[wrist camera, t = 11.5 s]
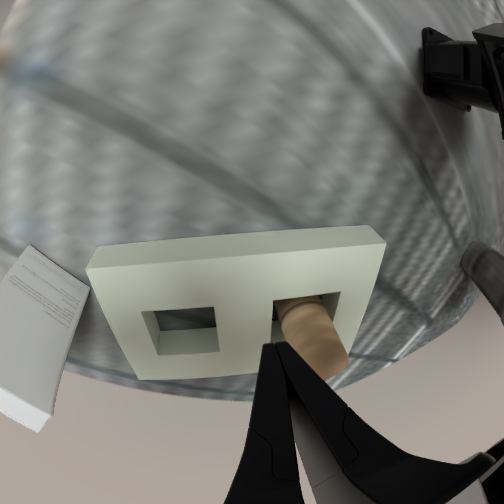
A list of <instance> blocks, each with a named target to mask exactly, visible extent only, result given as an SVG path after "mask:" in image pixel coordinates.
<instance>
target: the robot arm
mask: <svg viewBox="0 0 504 504" xmlns="http://www.w3.org/2000/svg"><path fill="white" fill-rule="evenodd" d="M423 32H424V94H425V95H426V96H427V97H430V98H433V99H436V100H438V101H441V102H444V103H447V104H449V105H452V106H454V107H457V108H459V109H462V110H464V111H467V112H470V110H471V106H475V107H479V108H482V109H486V110H489V111H492V112H495V113H498V114H499V117H500V122H501V128H502V132H501V133H502V139H503V140H504V23H494V24H491V25H488V26H485V27H483V28H480V29H477V30H474V31H472V34H473V36H474V38H475V39H476V41H454V40H452V39H451V38H449V37H447V36H445V35H444V34H442V33H440V32H438V31H436V30H434V29H432V28H430V27H426V28H424V30H423ZM429 33H430V34H429ZM429 90H430V93H429ZM294 440H295V441H294ZM295 442H296V445H297V448H298V451H299V454H300V457H301V460H302V463H303V466H304V469H305V471H306V474H307V477H308V480H309V483H310V486H311V488H312V491H313V494H314V497H315V500H316V503H317V504H504V438H503V439H501V440H500V441H498V442H497V443H496V444H494V445H493V446H492V447H491V448H489V449H488V450H487V451H485V452H484V453H483V452H479V453H476V454H474V455H473V456H471V457H470V458H468V459H466V460H464V461H462V462H461V463H459V464H451V463H446V462H441V461H436V460H431V459H427V458H422V457H418V456H414V455H411V454H409V453H407V452H405V451H403V450H401V449H400V448H398V447H397V446H396V445H394V444H393V443H391V442H390V441H389V440H387V439H386V438H385V437H383V436H382V435H380V434H379V433H378V432H377V431H375V430H374V429H373V428H372V427H370V426H369V425H368V424H367V423H365V422H364V421H363V420H362V419H361V418H360V417H359V416H358V415H357V414H356V413H355V412H354V411H353V410H352V409H351V408H350V407H348V405H347V404H346V403H345V402H344V401H343V400H342V399H341V398H340V397H339V396H338V395H337V394H336V393H335V392H334V391H333V390H332V389H331V388H330V387H329V385H328V384H327V383H326V382H325V381H324V380H323V379H322V378H321V377H320V376H319V375H318V374H317V373H316V372H315V371H314V370H313V369H312V368H311V367H310V365H309V364H308V363H307V362H306V361H305V360H304V359H303V358H302V357H301V356H300V355H299V354H298V353H297V352H296V350H295V349H294V348H293V347H292V346H291V345H290V344H289V343H288V342H287V341H277V342H275V343H273V342H270V343H264V344H263V345H262V351H261V358H260V364H259V370H258V376H257V382H256V388H255V394H254V400H253V406H252V411H251V417H250V422H249V428H248V433H247V438H246V443H245V447H244V451H243V454H242V457H241V460H240V464H239V466H238V469H237V472H236V474H235V477H234V479H233V482H232V484H231V487H230V490H229V492H228V494H227V497H226V499H225V501H224V504H305V503H304V500H303V496H302V491H301V486H300V482H299V481H300V478H299V471H298V463H297V456H296V448H295Z"/></svg>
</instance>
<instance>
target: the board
mask: <svg viewBox="0 0 504 504" xmlns="http://www.w3.org/2000/svg"><path fill="white" fill-rule="evenodd" d="M386 244H387V243H386V242H385V241H384V240H383V239H382V238H381V237H380V236H379V235H378V234H377V233H376V232H375V231H374V230H373V229H372V228H371V227H370V226H369V225H359V226H341V227H324V228H308V229H293V230H279V231H265V232H252V233H239V234H226V235H214V236H202V237H190V238H179V239H168V240H157V241H147V242H137V243H127V244H117V245H107V246H98V247H97V249H96V250H95V252H94V254H93V256H92V258H91V260H90V261H89V263H88V265H87V267H86V272H87V275H88V277H89V280H90V282H91V285H92V287H93V290H94V292H95V294H96V297H97V299H98V301H99V304H100V306H101V308H102V310H103V313H104V315H105V317H106V319H107V321H108V323H109V325H110V327H111V329H112V331H113V333H114V335H115V337H116V339H117V341H118V343H119V345H120V347H121V349H122V351H123V353H124V355H125V356H126V358H127V360H128V362H129V364H130V365H131V367H132V369H133V371H134V372H135V374H136V376H137V377H138V379H139V380H171V379H194V378H209V377H221V376H231V375H241V374H249V373H257V372H258V370H259V364H260V358H261V351H262V345H263V344H264V343H270V342H273V343H275V342H277V341H286V340H285V337H284V334H283V332H282V330H281V326H280V321H279V320H277V321H272V310H273V300H281V299H289V298H297V297H304V296H312V295H319V294H323V297H322V303H323V305H324V306H325V308H326V310H327V312H328V315H329V317H330V319H331V321H332V323H333V325H334V327H335V329H336V331H337V333H338V335H339V338H340V340H341V342H342V344H343V346H344V348H345V350H346V352H347V354H349V352H350V350H351V347H352V345H353V342H354V340H355V337H356V335H357V332H358V330H359V327H360V325H361V322H362V319H363V316H364V314H365V311H366V308H367V305H368V302H369V300H370V297H371V294H372V291H373V288H374V285H375V281H376V278H377V275H378V272H379V269H380V265H381V262H382V258H383V255H384V251H385V248H386ZM213 306H214V311H215V318H216V326H217V327H213V328H200V329H186V330H170V331H160V328H159V325H158V322H157V319H156V316H155V313H154V311H158V310H174V309H188V308H201V307H213Z"/></svg>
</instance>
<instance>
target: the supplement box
mask: <svg viewBox="0 0 504 504" xmlns="http://www.w3.org/2000/svg"><path fill="white" fill-rule="evenodd" d="M89 292H90V287H89V286H87V285H86V284H84V283H82V282H81V281H79V280H78V279H76V278H75V277H73V276H72V275H70V274H69V273H68V272H66V271H65V270H63V269H62V268H60V267H59V266H58V265H56V264H55V263H53V262H52V261H51V260H49V259H48V258H47V257H45V256H44V255H43V254H41V253H40V252H39V251H37V250H36V249H35V248H34V247H32V246H31V245H29V246H28V247H27V248H26V249H25V250H24V252H23V253H22V254H21V255H20V257H19V258H18V259H17V261H16V262H15V263H14V265H13V266H12V267H11V268H10V270H9V271H8V273H7V274H6V275H5V277H4V278H3V280H2V281H1V282H0V412H1V413H3V414H5V415H6V416H8V417H10V418H11V419H13V420H15V421H17V422H18V423H20V424H22V425H24V426H26V427H28V428H30V429H31V430H33V431H35V432H37V433H39V431H40V430H41V428H42V427H43V426H44V425H45V424H46V423H47V422H48V421H49V420H50V419H51V418H52V417H53V414H54V406H55V401H56V395H57V391H58V387H59V383H60V379H61V375H62V372H63V368H64V365H65V361H66V358H67V355H68V352H69V349H70V345H71V342H72V339H73V336H74V333H75V330H76V328H77V325H78V322H79V319H80V316H81V314H82V311H83V308H84V305H85V303H86V300H87V297H88V295H89Z"/></svg>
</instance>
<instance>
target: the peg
mask: <svg viewBox="0 0 504 504" xmlns="http://www.w3.org/2000/svg"><path fill="white" fill-rule="evenodd" d="M274 305H275V308H276V312H277V315H278V318H279V321H280V326H281V330H282V332H283V334H284V337H285V340H286V341H287V342H288V343H289V344H290V345H291V346H292V347H293V348H294V349H295V350H296V352H297V353H298V354H299V355H300V356H301V357H302V358H303V359H304V360H305V361H306V362H307V363H308V364H309V365H310V367H311V368H312V369H313V370H314V371H315V372H316V373H317V374H318V375H319V376H320V377H321V378H322V379H323V380H326V379H329V378H331V377H333V376H334V375H336V374H338V373H339V372H340V371H342V370H343V369H344V368H345V366H346V365H347V363H348V361H349V357H348V354H347V352H346V350H345V348H344V346H343V344H342V342H341V340H340V338H339V335H338V333H337V331H336V329H335V327H334V325H333V323H332V321H331V319H330V317H329V315H328V312H327V310H326V308H325V306H324V305H323V303H322V301H321V299H320V297H319V295H312V296H304V297H297V298H289V299H281V300H274Z"/></svg>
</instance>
